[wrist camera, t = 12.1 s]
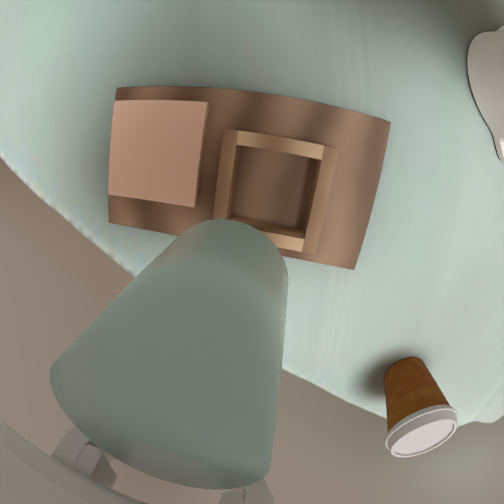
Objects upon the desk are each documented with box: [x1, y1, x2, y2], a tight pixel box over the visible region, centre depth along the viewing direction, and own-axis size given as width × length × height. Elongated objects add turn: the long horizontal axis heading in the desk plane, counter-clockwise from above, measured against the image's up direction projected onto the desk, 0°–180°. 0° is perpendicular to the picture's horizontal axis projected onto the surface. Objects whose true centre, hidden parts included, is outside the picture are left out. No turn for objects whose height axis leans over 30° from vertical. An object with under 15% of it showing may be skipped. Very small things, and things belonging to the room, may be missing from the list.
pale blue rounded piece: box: [50, 219, 288, 489], centre depth 9 cm, size 8×5×8 cm, turn 171°
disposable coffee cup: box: [384, 357, 458, 457], centre depth 28 cm, size 10×10×12 cm
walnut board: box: [109, 86, 391, 270], centre depth 25 cm, size 27×15×4 cm, turn 82°
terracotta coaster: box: [108, 100, 210, 207], centre depth 26 cm, size 10×10×1 cm
